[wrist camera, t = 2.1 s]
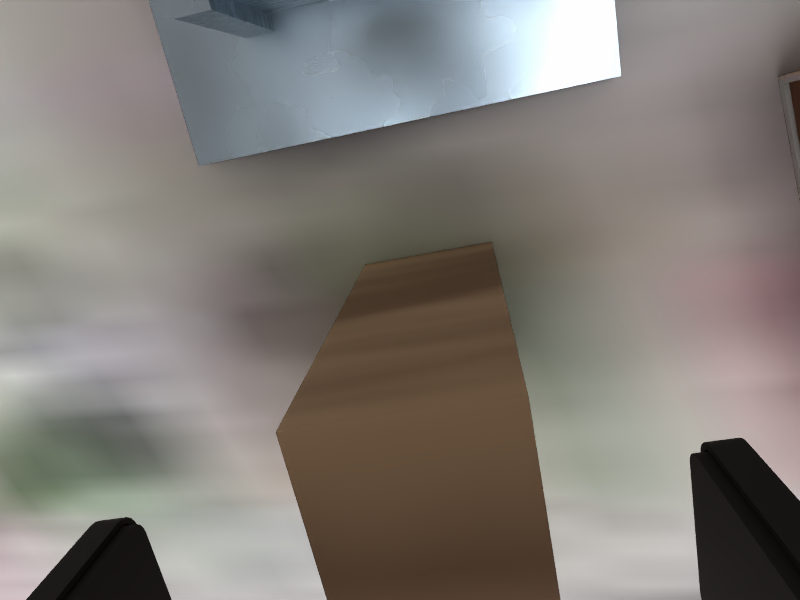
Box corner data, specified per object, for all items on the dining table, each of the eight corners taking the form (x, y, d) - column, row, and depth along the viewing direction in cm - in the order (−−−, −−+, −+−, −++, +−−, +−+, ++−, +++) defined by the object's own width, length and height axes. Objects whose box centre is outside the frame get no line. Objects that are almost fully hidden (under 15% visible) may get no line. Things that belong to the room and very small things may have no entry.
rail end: (365, 264, 19) (275, 431, 10) (491, 241, 18) (528, 396, 9) (391, 377, 20) (334, 625, 11) (511, 359, 20) (561, 605, 10)
